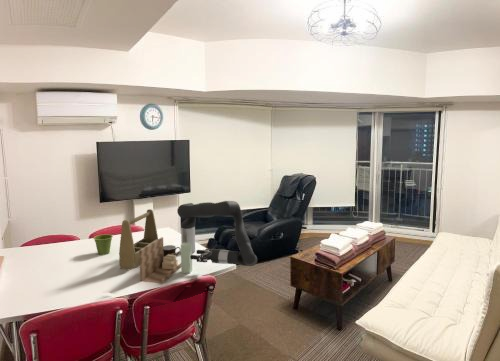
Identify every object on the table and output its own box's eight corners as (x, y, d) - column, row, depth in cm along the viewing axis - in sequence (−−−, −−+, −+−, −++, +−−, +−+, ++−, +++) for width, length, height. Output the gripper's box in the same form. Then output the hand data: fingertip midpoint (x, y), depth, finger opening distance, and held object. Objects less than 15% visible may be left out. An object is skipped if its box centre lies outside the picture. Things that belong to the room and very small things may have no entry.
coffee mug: (162, 266, 195) (161, 250, 194) (162, 261, 203) (161, 245, 202) (181, 264, 198) (181, 248, 197) (180, 259, 206) (180, 244, 205)
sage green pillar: (184, 270, 187) (183, 242, 185) (192, 271, 186) (191, 243, 184) (181, 273, 183) (180, 244, 181) (189, 274, 182) (189, 245, 180)
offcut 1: (168, 259, 194) (168, 254, 193) (176, 260, 192) (176, 255, 191) (163, 262, 189) (163, 257, 189) (171, 263, 187) (171, 258, 187)
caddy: (135, 270, 189) (133, 220, 185) (119, 268, 191) (116, 219, 187) (159, 253, 217) (157, 209, 214) (144, 251, 220) (142, 208, 216)
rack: (162, 265, 195) (161, 237, 193) (182, 267, 193) (181, 238, 190) (140, 283, 172) (139, 250, 170) (162, 285, 169) (161, 252, 167)
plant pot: (100, 257, 209) (99, 240, 207) (91, 253, 216) (89, 237, 214) (117, 252, 218) (116, 236, 217) (107, 248, 225) (106, 233, 224)
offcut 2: (166, 264, 194) (166, 259, 194) (177, 265, 193) (177, 259, 193) (162, 268, 189) (162, 262, 188) (173, 269, 188) (173, 263, 187)
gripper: (224, 245, 184) (198, 243, 188) (216, 254, 171) (188, 252, 174) (225, 258, 185) (198, 256, 189) (217, 268, 172) (188, 265, 175)
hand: (193, 254), depth 182 cm, fingers open, 8 cm apart
